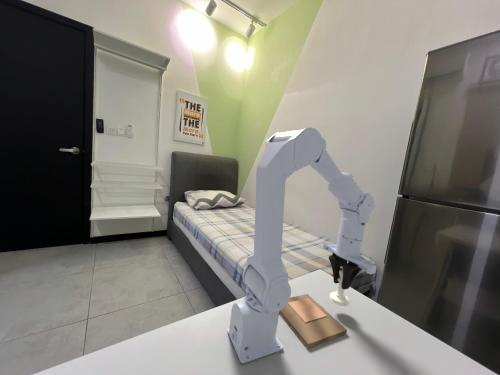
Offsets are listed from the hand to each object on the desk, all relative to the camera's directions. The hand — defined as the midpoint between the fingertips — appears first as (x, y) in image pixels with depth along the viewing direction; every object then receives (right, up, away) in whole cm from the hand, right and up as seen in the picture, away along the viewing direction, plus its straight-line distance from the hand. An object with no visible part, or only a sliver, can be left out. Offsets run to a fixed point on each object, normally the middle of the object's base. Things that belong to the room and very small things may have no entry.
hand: (341, 285), depth 54 cm
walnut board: (-10, -7, -3) cm, 12 cm away
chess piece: (0, -4, +1) cm, 4 cm away
